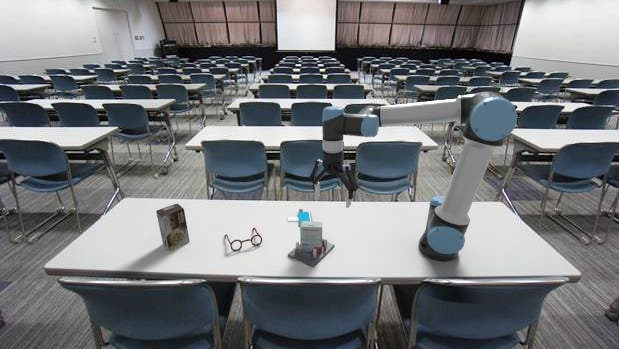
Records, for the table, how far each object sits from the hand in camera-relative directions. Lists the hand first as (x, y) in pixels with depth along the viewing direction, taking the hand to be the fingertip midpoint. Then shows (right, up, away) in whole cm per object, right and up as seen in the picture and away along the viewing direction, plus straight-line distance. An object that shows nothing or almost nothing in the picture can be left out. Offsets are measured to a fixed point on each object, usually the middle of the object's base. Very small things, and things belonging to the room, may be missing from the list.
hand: (332, 202), depth 126 cm
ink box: (-8, -19, +5) cm, 22 cm away
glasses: (-37, -18, +13) cm, 43 cm away
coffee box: (-65, -18, +10) cm, 68 cm away
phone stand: (-13, -11, +29) cm, 33 cm away
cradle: (-8, -20, +5) cm, 22 cm away
